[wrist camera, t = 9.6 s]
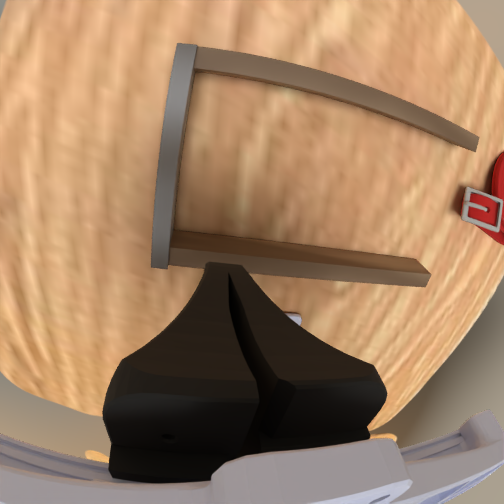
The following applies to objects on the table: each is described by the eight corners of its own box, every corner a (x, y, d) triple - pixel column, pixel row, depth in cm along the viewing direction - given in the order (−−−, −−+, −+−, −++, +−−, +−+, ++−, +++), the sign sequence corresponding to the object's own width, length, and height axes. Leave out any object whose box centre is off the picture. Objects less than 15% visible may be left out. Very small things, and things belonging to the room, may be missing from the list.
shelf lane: (410, 271, 25) (428, 290, 22) (157, 244, 21) (150, 267, 18) (458, 130, 19) (483, 138, 17) (182, 51, 15) (177, 43, 13)
